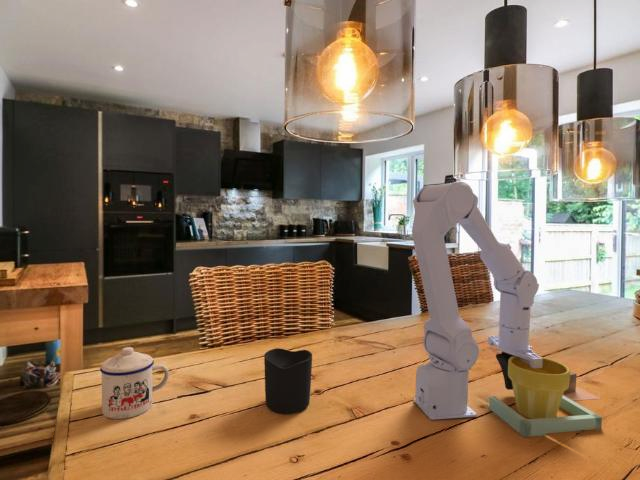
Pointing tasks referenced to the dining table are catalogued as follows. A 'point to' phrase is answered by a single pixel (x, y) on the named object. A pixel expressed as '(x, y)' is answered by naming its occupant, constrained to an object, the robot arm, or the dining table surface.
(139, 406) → the teacup with lid
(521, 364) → the plant pot
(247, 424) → the dining table surface
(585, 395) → the terracotta mat
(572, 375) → the walnut block
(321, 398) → the dining table surface
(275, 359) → the pen holder
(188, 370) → the dining table surface
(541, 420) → the frame
